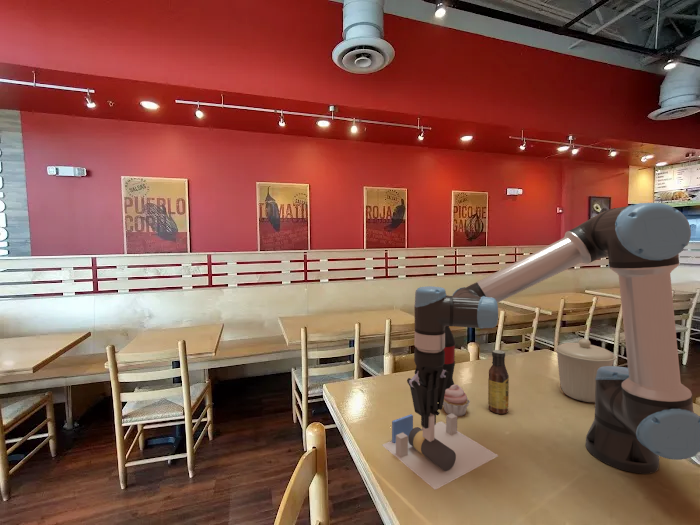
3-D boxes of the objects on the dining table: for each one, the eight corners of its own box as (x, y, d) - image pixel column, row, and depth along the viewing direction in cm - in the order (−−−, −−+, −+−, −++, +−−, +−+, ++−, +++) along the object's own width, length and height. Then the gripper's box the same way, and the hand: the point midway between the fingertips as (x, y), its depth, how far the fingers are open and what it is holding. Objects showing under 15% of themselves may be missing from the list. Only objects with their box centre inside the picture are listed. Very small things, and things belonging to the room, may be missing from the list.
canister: (564, 405, 117) (566, 345, 116) (547, 383, 135) (548, 331, 133) (625, 411, 113) (628, 348, 111) (599, 388, 130) (601, 333, 129)
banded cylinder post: (453, 470, 84) (457, 449, 84) (439, 471, 81) (444, 449, 82) (419, 445, 94) (424, 427, 95) (406, 445, 92) (410, 426, 92)
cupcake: (450, 423, 106) (450, 391, 105) (435, 408, 115) (435, 380, 114) (476, 418, 108) (476, 388, 108) (459, 405, 117) (459, 376, 117)
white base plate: (498, 458, 89) (499, 433, 88) (435, 493, 77) (435, 464, 76) (441, 423, 106) (441, 402, 105) (381, 447, 94) (381, 423, 93)
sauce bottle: (510, 415, 110) (511, 355, 109) (490, 414, 111) (491, 354, 110) (505, 406, 116) (506, 349, 115) (486, 404, 118) (487, 348, 116)
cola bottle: (452, 390, 129) (453, 312, 127) (456, 400, 121) (457, 317, 119) (429, 389, 130) (430, 311, 128) (432, 399, 122) (433, 316, 120)
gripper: (436, 340, 92) (435, 424, 94) (399, 348, 86) (399, 438, 87) (458, 347, 86) (457, 437, 88) (420, 357, 79) (419, 454, 81)
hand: (428, 438), depth 87 cm, fingers closed
